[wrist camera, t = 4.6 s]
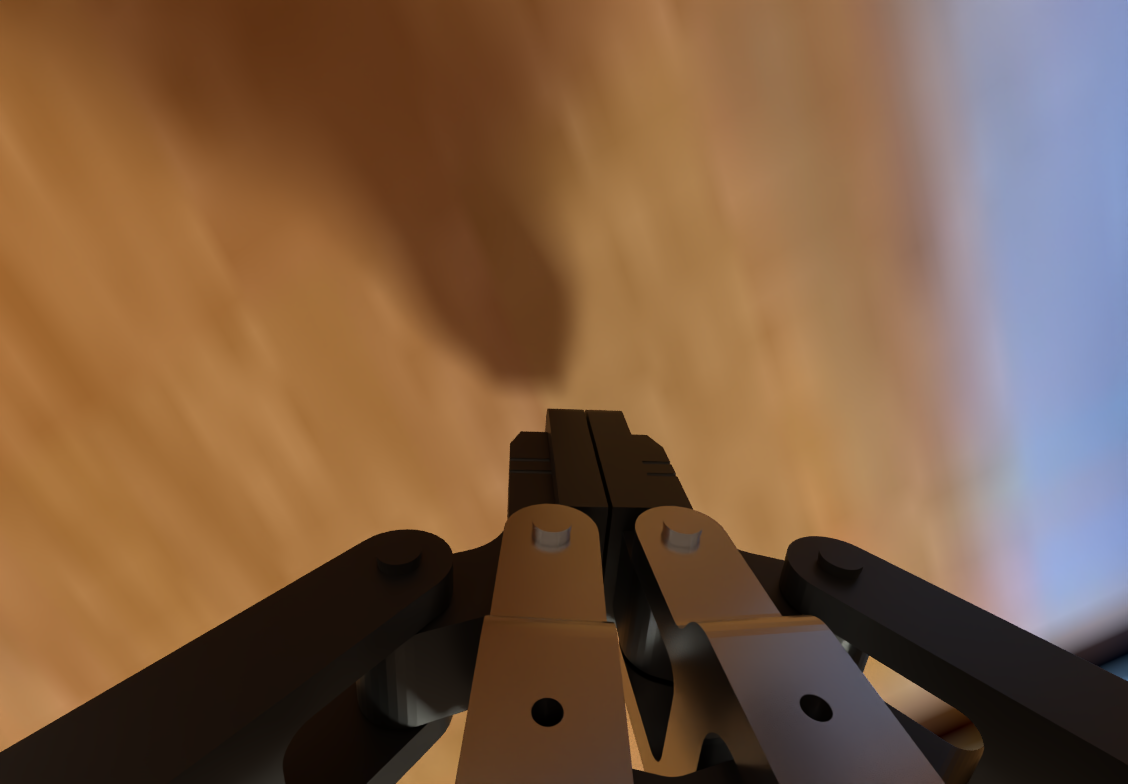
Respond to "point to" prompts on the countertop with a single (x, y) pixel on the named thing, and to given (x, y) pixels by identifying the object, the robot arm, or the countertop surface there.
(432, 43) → the countertop surface
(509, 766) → the robot arm
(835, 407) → the countertop surface
